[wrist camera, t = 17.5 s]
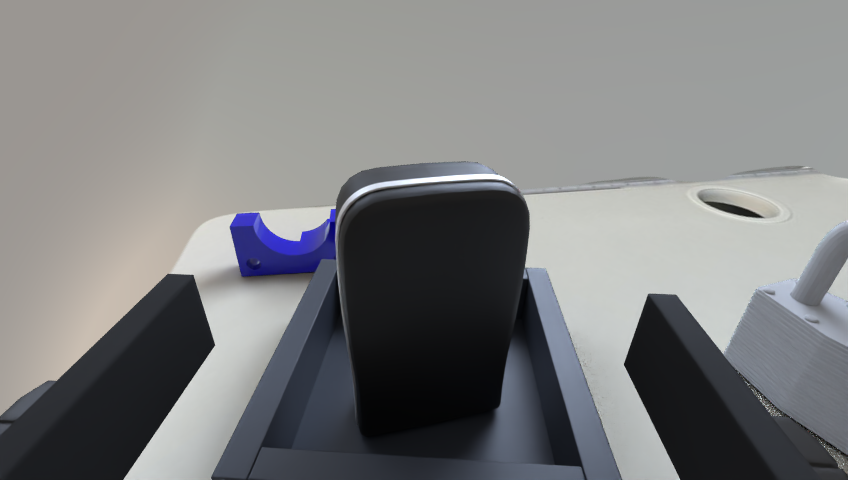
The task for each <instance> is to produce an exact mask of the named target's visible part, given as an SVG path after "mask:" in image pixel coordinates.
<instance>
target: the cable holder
mask: <svg viewBox="0 0 848 480" xmlns="http://www.w3.org/2000/svg"><path fill="white" fill-rule="evenodd" d="M335 215H336V209H331V214H330V219H327V220H326V221H325V222H324V223H323V224H322V225H321V226H319V227H318V228H316V229H313V230H310V231H305V232H302V235H301V240H300V241H290V240H286V239H283V238H280V237H278V236H276V235H275V234H273V233H272V232H271V231H270V230H269V229H268V228H267V227H266V226H265V225H264V223H263V221H262V219H261V217H260V214H259V213H241V214H237V215H236V217H235V218H234V220H233V222H232V224H231V225H230V230H231V234H232V238H233V243H234V247H235V251H236V255H237V259H238V263H239V267H240V272H241V276H242V277H244V276H260V275H275V274H291V273H307V272H315V271H316V269H317V267H318V265H319V264H320V262H321V260H322V259H333V260H336V243H335V234H336V229H335Z"/></svg>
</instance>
